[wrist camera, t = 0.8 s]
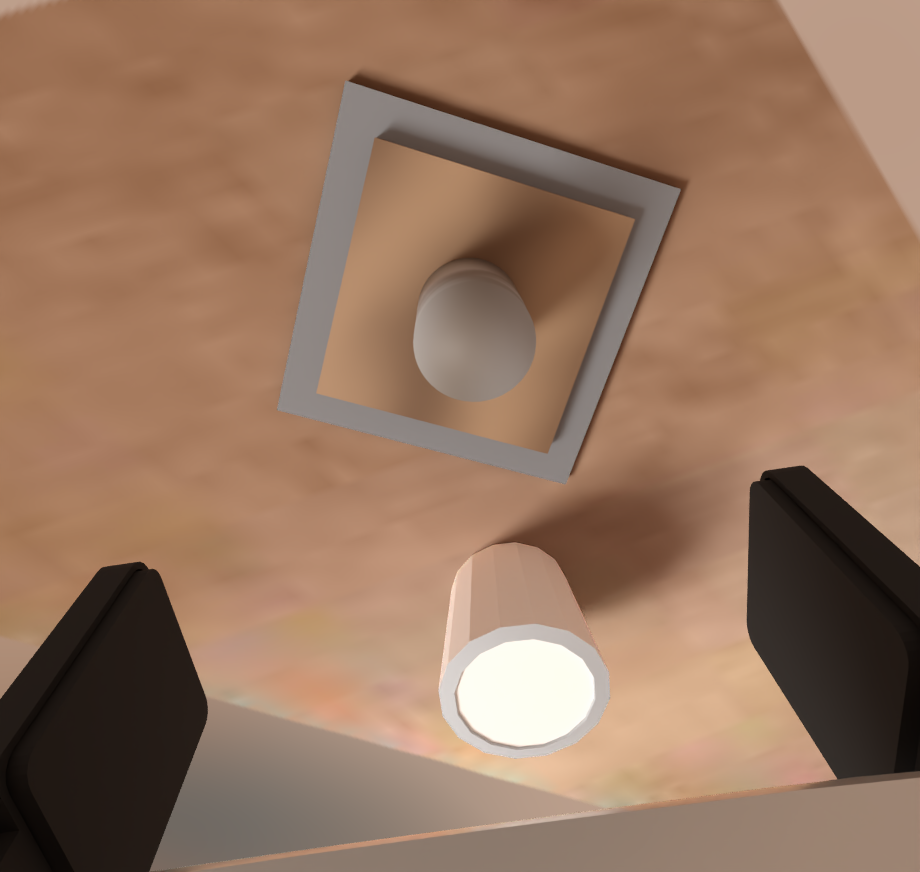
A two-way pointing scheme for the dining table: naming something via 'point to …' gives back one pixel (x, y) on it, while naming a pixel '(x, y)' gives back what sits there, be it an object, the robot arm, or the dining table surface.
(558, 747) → the pale pink cup
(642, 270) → the mat
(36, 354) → the dining table surface
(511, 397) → the lid
